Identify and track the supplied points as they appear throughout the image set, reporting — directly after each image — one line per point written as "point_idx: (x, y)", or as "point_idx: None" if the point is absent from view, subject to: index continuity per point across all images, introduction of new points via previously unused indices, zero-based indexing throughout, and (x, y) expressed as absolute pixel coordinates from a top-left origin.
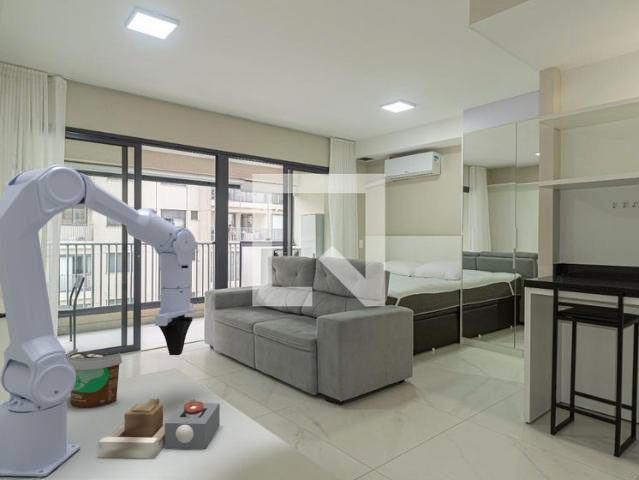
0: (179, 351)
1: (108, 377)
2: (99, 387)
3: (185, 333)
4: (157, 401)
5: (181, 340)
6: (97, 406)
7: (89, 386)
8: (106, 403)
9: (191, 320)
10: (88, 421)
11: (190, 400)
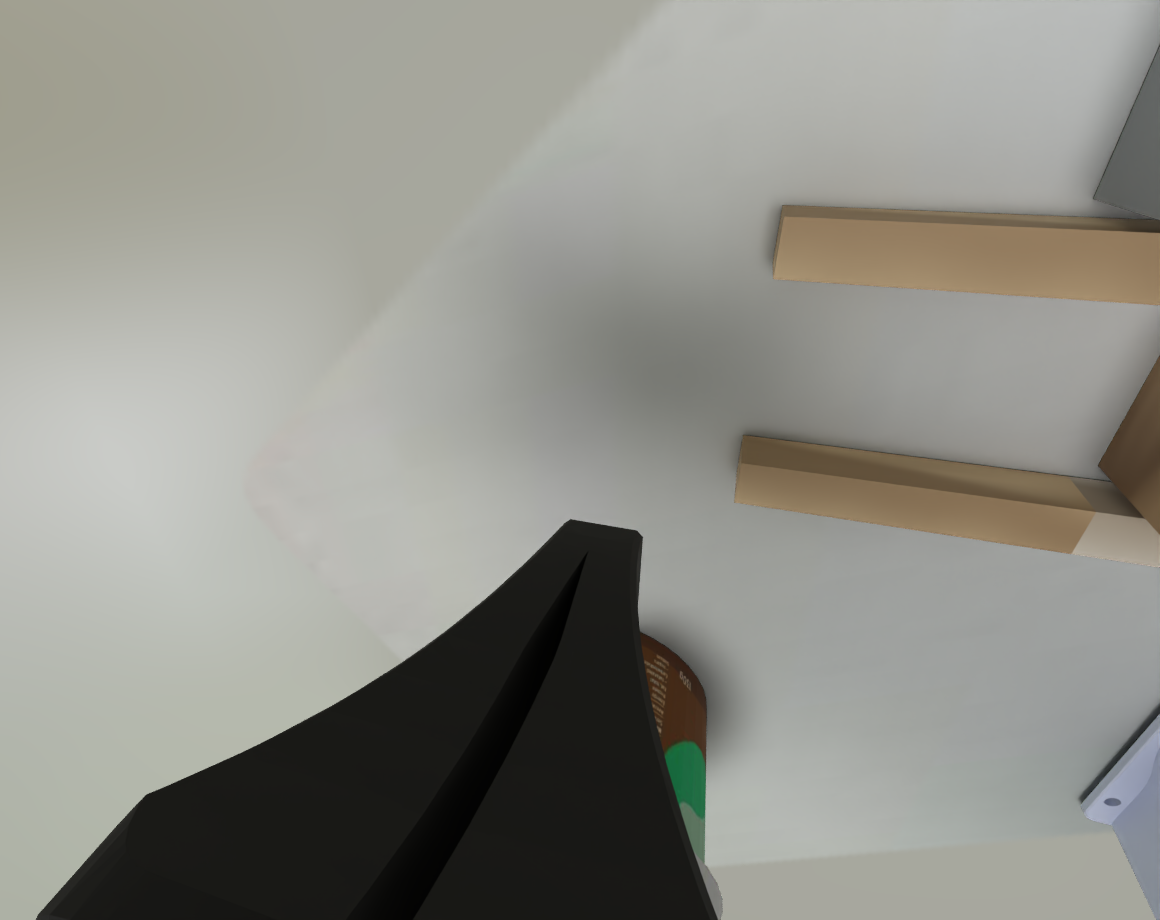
0: (637, 559)
1: None
2: (688, 750)
3: (467, 684)
4: (767, 463)
5: (628, 654)
6: (695, 677)
7: (703, 788)
8: (674, 657)
9: (191, 866)
10: (858, 676)
11: (797, 247)
